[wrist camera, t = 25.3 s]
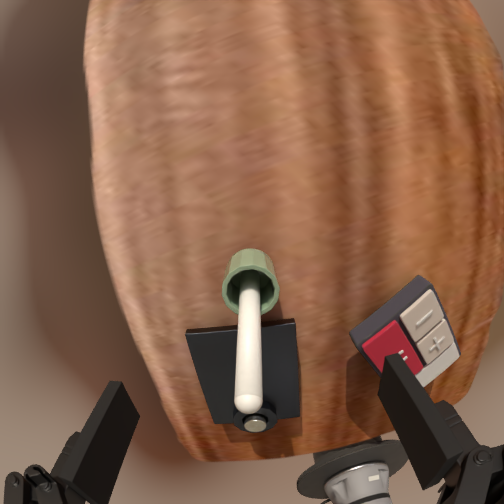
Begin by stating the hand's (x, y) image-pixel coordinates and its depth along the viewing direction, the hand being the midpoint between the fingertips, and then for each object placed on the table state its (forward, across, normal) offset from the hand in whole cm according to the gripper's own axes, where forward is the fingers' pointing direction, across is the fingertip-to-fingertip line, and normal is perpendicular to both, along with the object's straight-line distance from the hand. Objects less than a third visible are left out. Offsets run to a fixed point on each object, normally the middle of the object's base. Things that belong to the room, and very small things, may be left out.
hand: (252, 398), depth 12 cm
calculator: (+17, +19, -12) cm, 28 cm away
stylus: (+16, 0, +1) cm, 16 cm away
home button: (+15, -2, -20) cm, 25 cm away
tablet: (+17, -2, -14) cm, 22 cm away
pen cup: (+17, 0, 0) cm, 17 cm away
